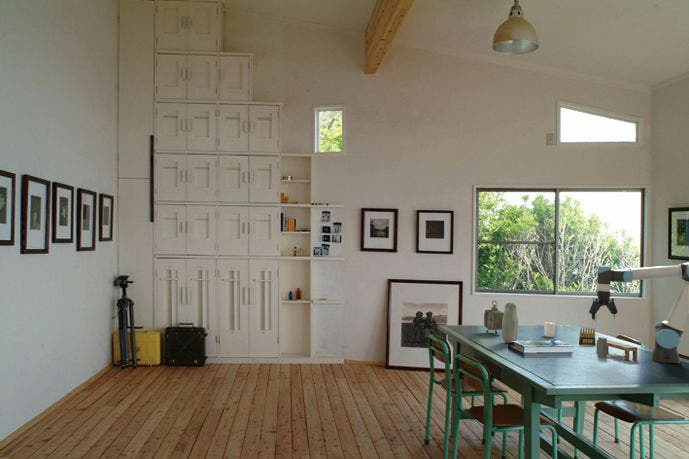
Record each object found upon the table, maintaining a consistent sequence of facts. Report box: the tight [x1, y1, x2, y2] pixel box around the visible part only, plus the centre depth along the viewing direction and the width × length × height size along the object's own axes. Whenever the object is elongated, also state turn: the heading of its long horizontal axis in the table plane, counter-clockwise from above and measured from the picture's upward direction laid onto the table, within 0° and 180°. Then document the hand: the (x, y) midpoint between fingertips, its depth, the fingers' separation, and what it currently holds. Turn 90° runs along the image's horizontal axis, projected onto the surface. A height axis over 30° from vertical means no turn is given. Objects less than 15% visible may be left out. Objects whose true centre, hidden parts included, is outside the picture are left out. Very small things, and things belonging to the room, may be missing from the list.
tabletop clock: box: [483, 300, 504, 336], centre depth 390 cm, size 14×9×25 cm, turn 17°
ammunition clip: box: [578, 326, 596, 346], centre depth 360 cm, size 11×2×12 cm, turn 87°
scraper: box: [597, 336, 625, 359], centre depth 324 cm, size 18×6×12 cm, turn 108°
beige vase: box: [501, 302, 519, 344], centre depth 355 cm, size 10×10×28 cm
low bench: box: [595, 339, 638, 362], centre depth 325 cm, size 24×8×8 cm, turn 18°
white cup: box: [543, 321, 557, 338], centre depth 387 cm, size 8×8×10 cm
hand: (603, 324), depth 322 cm, fingers open, 13 cm apart
